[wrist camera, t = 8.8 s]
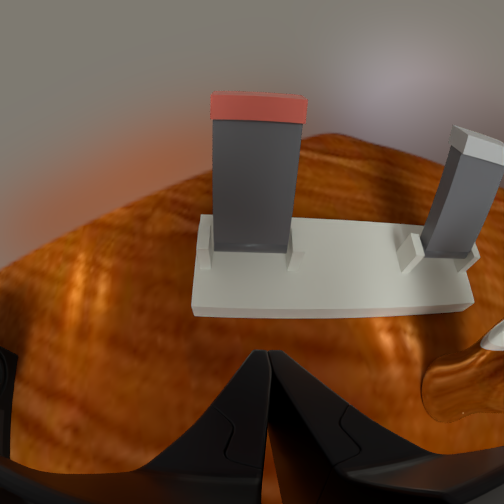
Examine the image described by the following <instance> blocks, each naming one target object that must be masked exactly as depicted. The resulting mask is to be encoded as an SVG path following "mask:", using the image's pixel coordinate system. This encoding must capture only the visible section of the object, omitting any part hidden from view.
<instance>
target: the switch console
mask: <svg viewBox="0 0 504 504" xmlns="http://www.w3.org/2000/svg"><path fill="white" fill-rule="evenodd" d="M423 228H424V226H419V225H407V224H394V223H380V222H365V221H349V220H332V219H313V218H293V217H292V220H291V228H290V235H289V243H288V247H287V253H286V254H282V253H249V252H215V251H214V239H213V215H203V214H201V218H200V224H199V230H198V239H197V247H196V249H197V253H196V262H195V271H194V282H193V292H192V303H191V307H192V310H193V313H194V316H205V317H231V318H358V317H384V316H404V315H420V314H435V313H447V312H459V311H463V310H465V309H466V308H468V307H469V306H471V305H472V304H473V303H474V299H473V295H472V291H471V287H470V284H469V280H468V277H467V273H466V270H467V269H468V268H470V267H471V266H472V265H473V264H474V263H475V262H476V261H477V260H478V259H479V258H480V255H479V252H478V249H477V246H476V244H475V243H474V245H473V247H472V249H471V251H470V253H468V255H467V257H466V258H465V259H450V258H423V257H424V256H425V254H424V251H423V247H422V244H421V240H420V236H421V233H422V231H423Z"/></svg>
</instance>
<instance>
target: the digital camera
mask: <svg viewBox="0 0 504 504" xmlns="http://www.w3.org/2000/svg"><path fill="white" fill-rule="evenodd" d="M17 359H18V355H16V354H14V353H12V352H10V351H9V350H7V349H5V348H3V347H1V346H0V456H3V457H5V458H8V459H9V456H10V423H11V409H12V398H13V388H14V380H15V372H16V365H17Z"/></svg>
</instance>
